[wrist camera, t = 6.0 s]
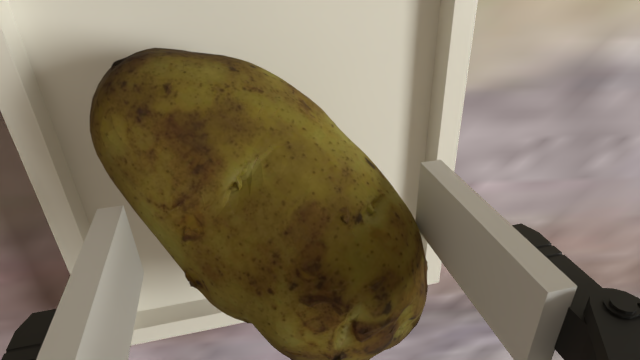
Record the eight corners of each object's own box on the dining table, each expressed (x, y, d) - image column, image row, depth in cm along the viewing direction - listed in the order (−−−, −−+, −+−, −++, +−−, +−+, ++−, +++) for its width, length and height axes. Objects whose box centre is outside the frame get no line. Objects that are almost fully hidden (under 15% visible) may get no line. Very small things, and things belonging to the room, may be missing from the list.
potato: (283, -42, 15) (327, -19, 8) (404, 217, 21) (483, 351, 15) (81, 72, 15) (-41, 183, 9) (259, 288, 22) (270, 447, 15)
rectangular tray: (115, 298, 24) (102, 351, 21) (-20, -71, 15) (-79, -75, 12) (411, 243, 27) (438, 282, 24) (441, -85, 19) (490, -90, 15)
